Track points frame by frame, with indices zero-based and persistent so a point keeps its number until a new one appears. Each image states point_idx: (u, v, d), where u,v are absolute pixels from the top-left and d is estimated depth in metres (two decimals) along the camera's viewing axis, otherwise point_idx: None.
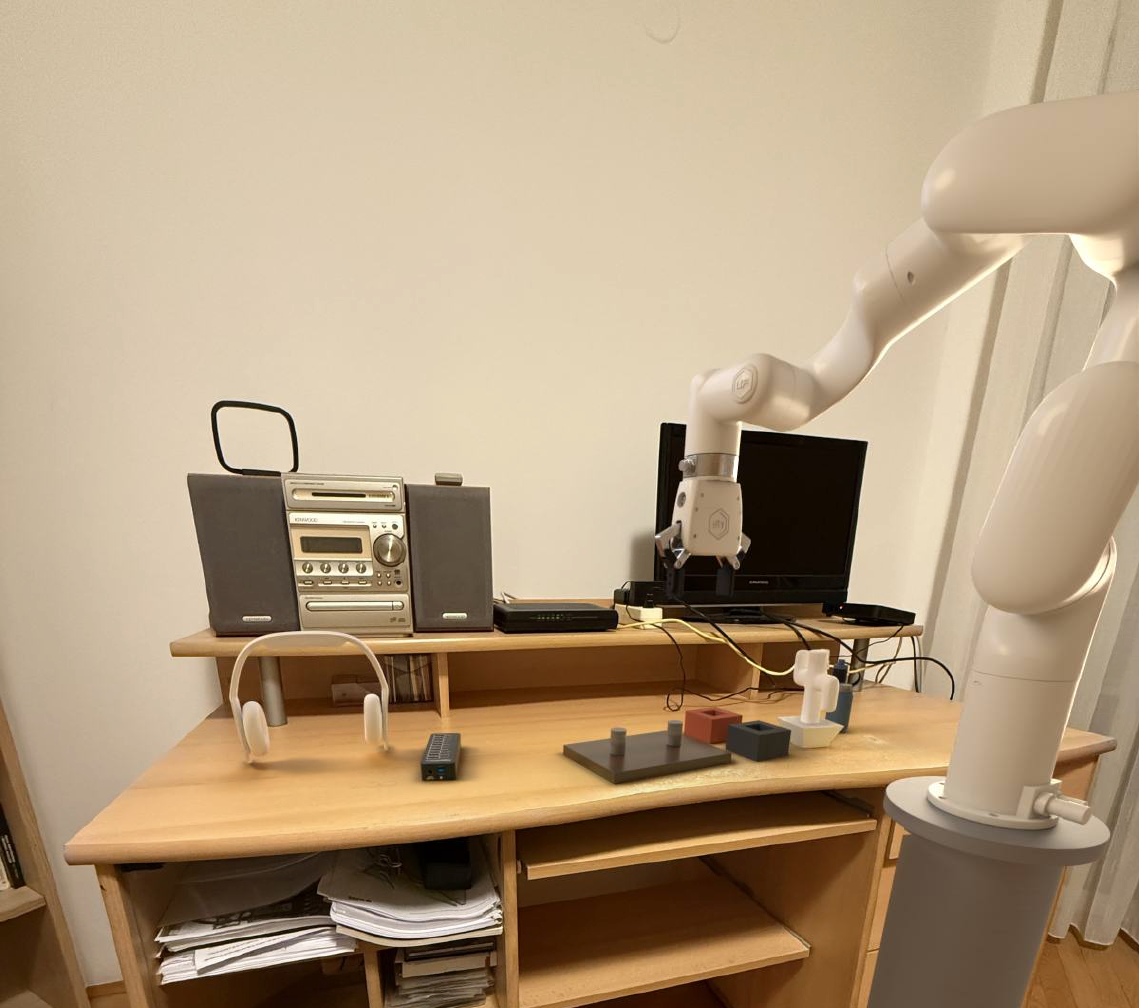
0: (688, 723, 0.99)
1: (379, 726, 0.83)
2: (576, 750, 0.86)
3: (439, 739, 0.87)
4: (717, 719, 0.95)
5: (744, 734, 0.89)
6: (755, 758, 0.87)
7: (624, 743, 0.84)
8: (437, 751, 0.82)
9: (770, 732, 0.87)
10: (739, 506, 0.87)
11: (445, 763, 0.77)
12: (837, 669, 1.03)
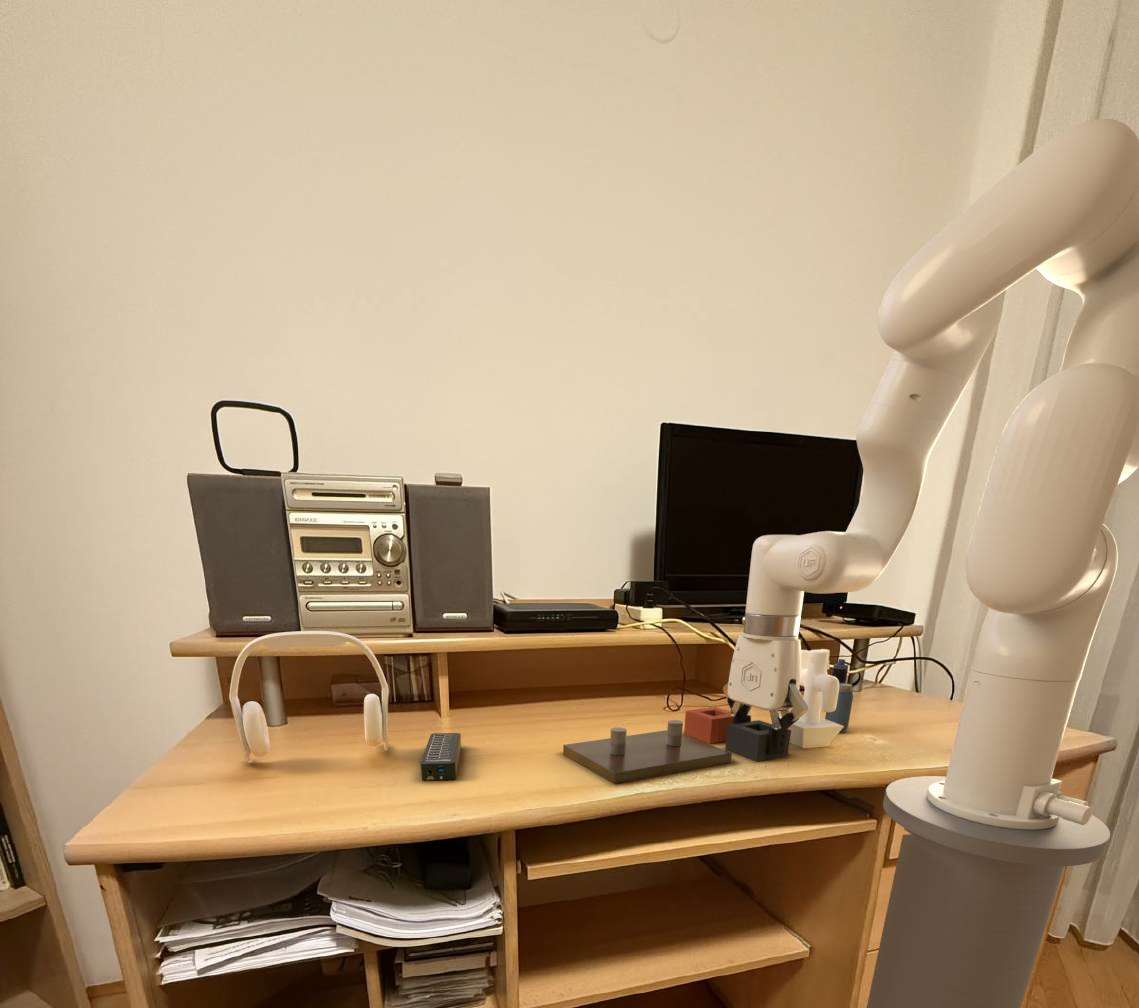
0: (688, 723, 0.99)
1: (379, 726, 0.83)
2: (576, 750, 0.86)
3: (439, 739, 0.87)
4: (717, 719, 0.95)
5: (744, 734, 0.89)
6: (755, 758, 0.87)
7: (624, 743, 0.84)
8: (437, 751, 0.82)
9: None
10: (774, 663, 0.83)
11: (445, 763, 0.77)
12: (837, 669, 1.03)
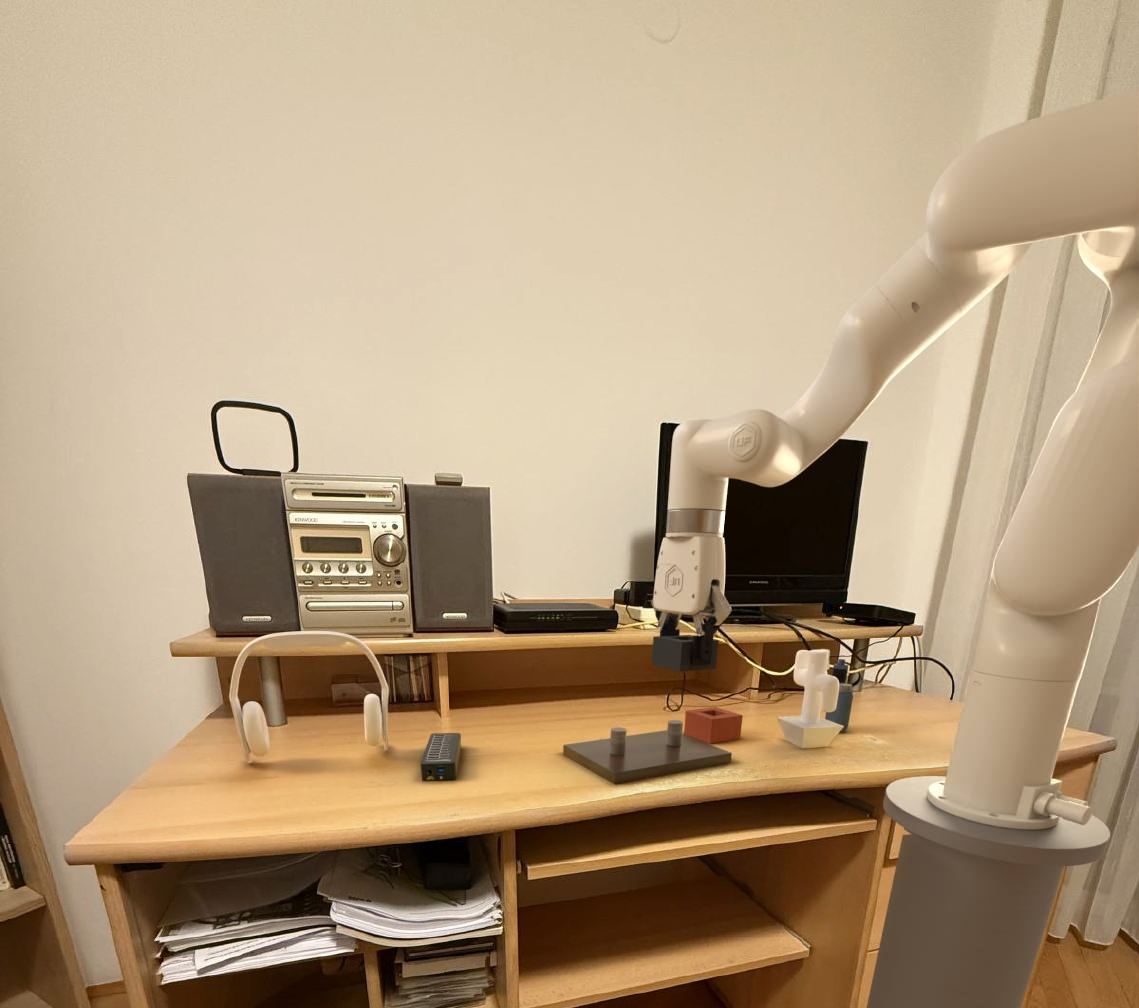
0: (688, 723, 0.99)
1: (379, 726, 0.83)
2: (576, 750, 0.86)
3: (439, 739, 0.87)
4: (717, 719, 0.95)
5: (668, 644, 0.83)
6: (679, 668, 0.82)
7: (624, 743, 0.84)
8: (437, 751, 0.82)
9: None
10: (695, 561, 0.77)
11: (445, 763, 0.77)
12: (837, 669, 1.03)
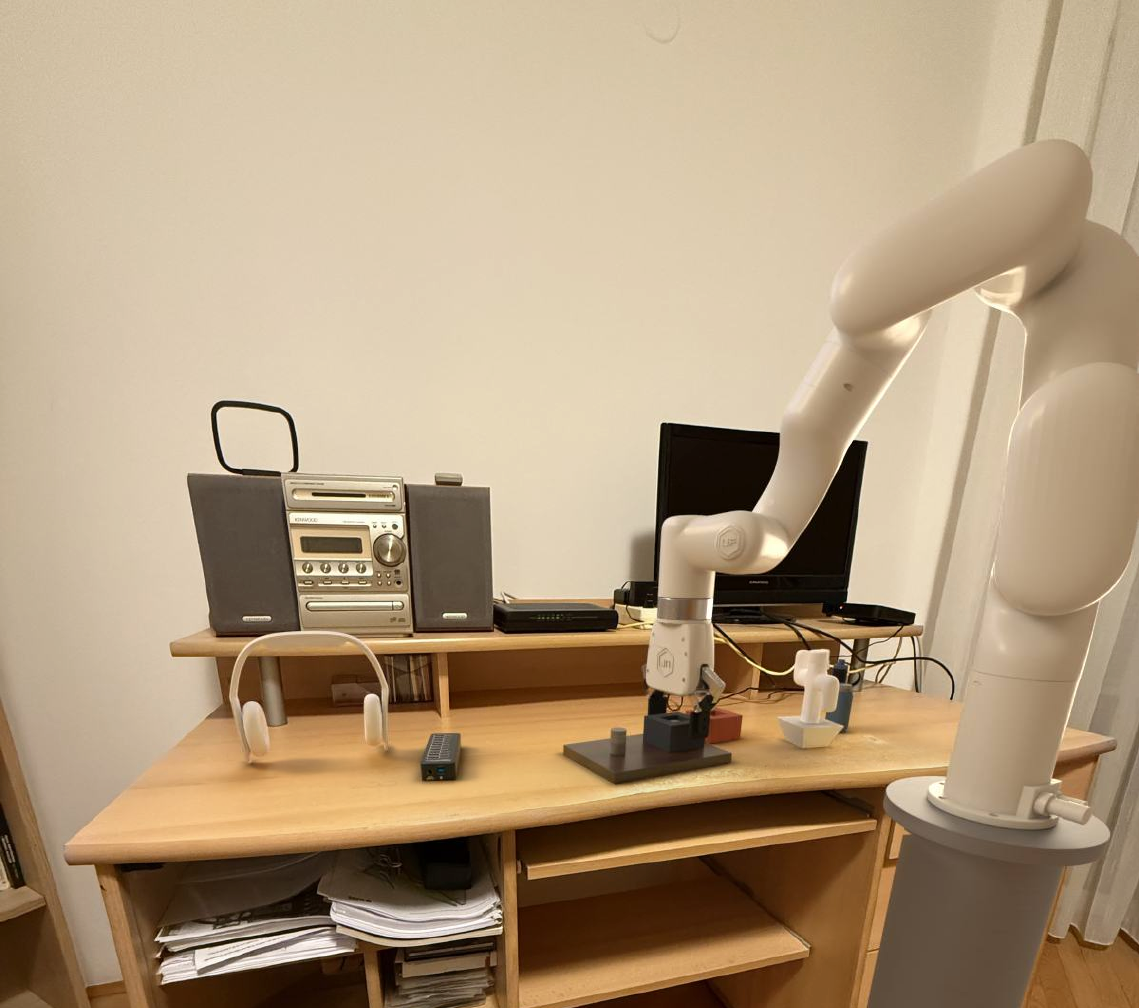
0: None
1: (379, 726, 0.83)
2: (576, 750, 0.86)
3: (439, 739, 0.87)
4: (717, 719, 0.95)
5: (658, 725, 0.87)
6: (668, 749, 0.85)
7: (624, 743, 0.84)
8: (437, 751, 0.82)
9: (683, 723, 0.86)
10: (685, 647, 0.80)
11: (445, 763, 0.77)
12: (837, 669, 1.03)
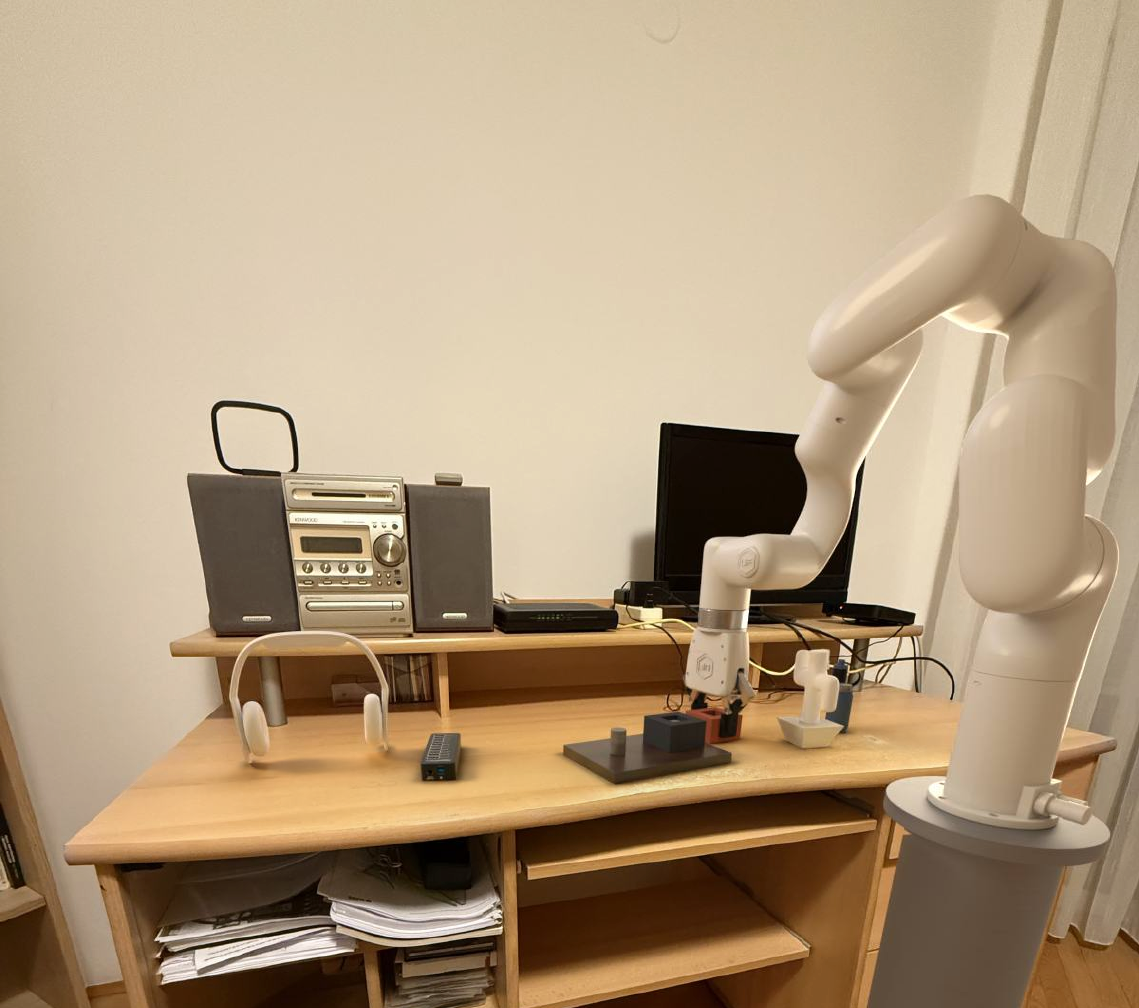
0: None
1: (379, 726, 0.83)
2: (576, 750, 0.86)
3: (439, 739, 0.87)
4: (717, 719, 0.95)
5: (658, 725, 0.87)
6: (668, 749, 0.85)
7: (624, 743, 0.84)
8: (437, 751, 0.82)
9: (683, 723, 0.86)
10: (724, 653, 0.91)
11: (445, 763, 0.77)
12: (837, 669, 1.03)
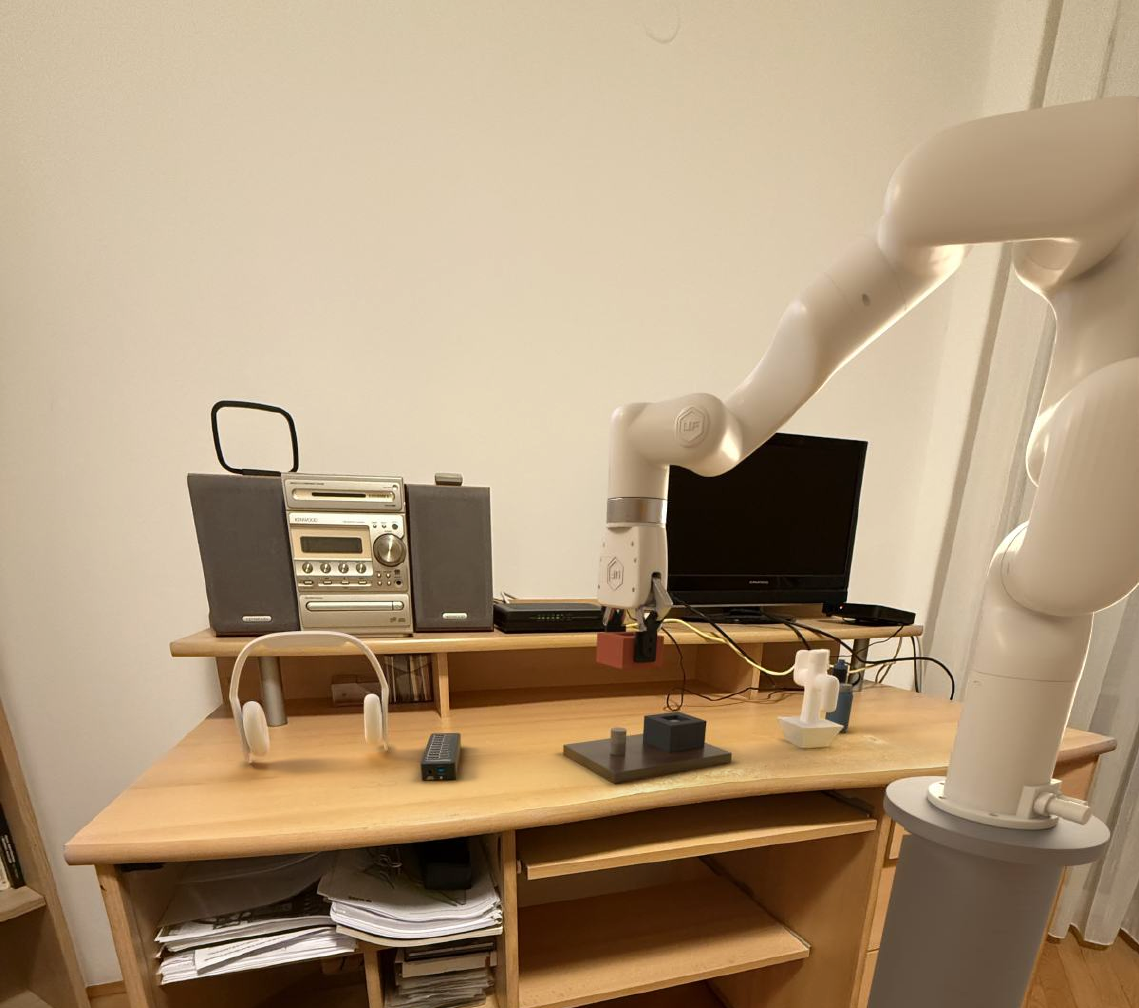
0: (600, 648, 0.82)
1: (379, 726, 0.83)
2: (576, 750, 0.86)
3: (439, 739, 0.87)
4: (630, 639, 0.77)
5: (658, 725, 0.87)
6: (668, 749, 0.85)
7: (624, 743, 0.84)
8: (437, 751, 0.82)
9: (683, 723, 0.86)
10: (634, 552, 0.73)
11: (445, 763, 0.77)
12: (837, 669, 1.03)
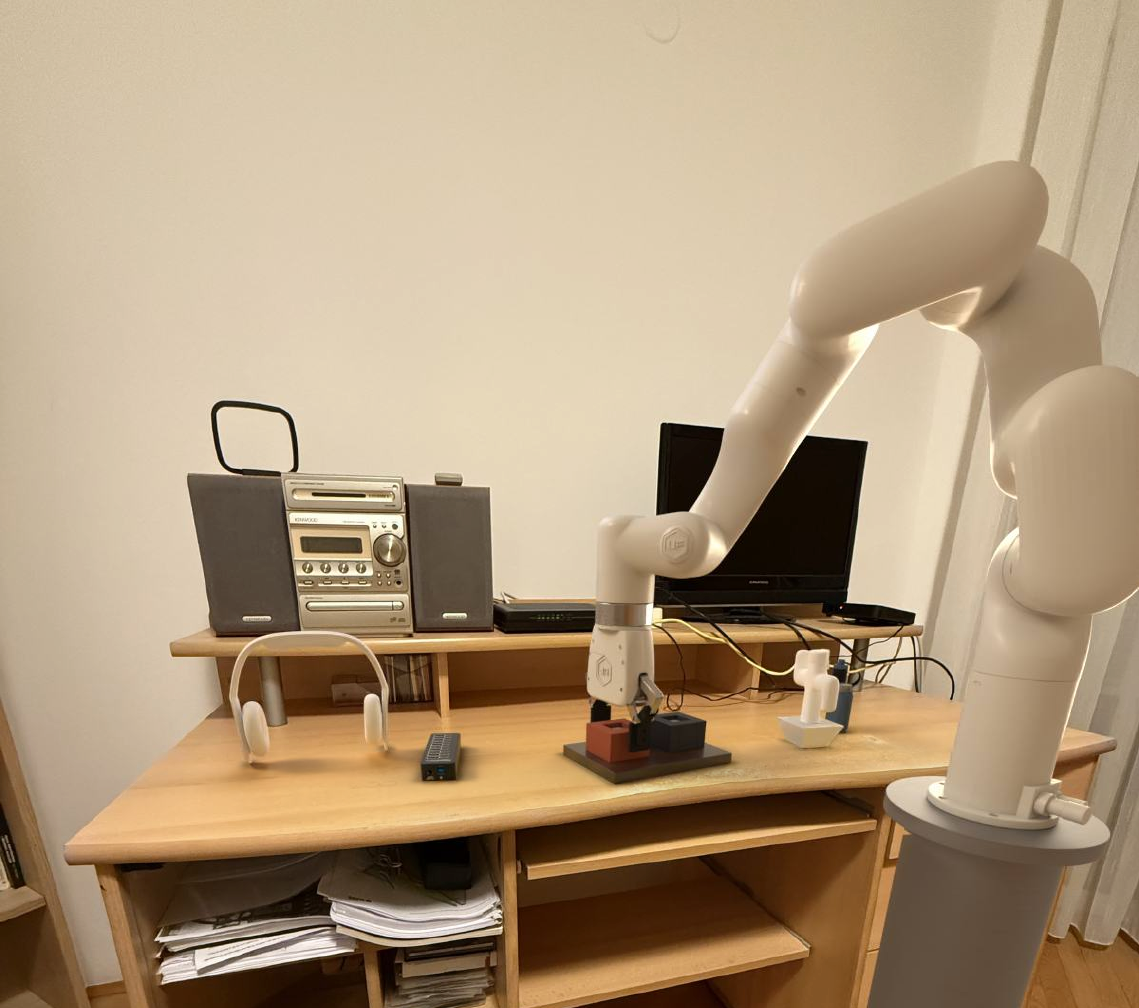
0: (589, 738, 0.85)
1: (379, 726, 0.83)
2: (576, 750, 0.86)
3: (439, 739, 0.87)
4: (618, 734, 0.80)
5: (658, 725, 0.87)
6: (668, 749, 0.85)
7: None
8: (437, 751, 0.82)
9: (683, 723, 0.86)
10: (622, 655, 0.76)
11: (445, 763, 0.77)
12: (837, 669, 1.03)
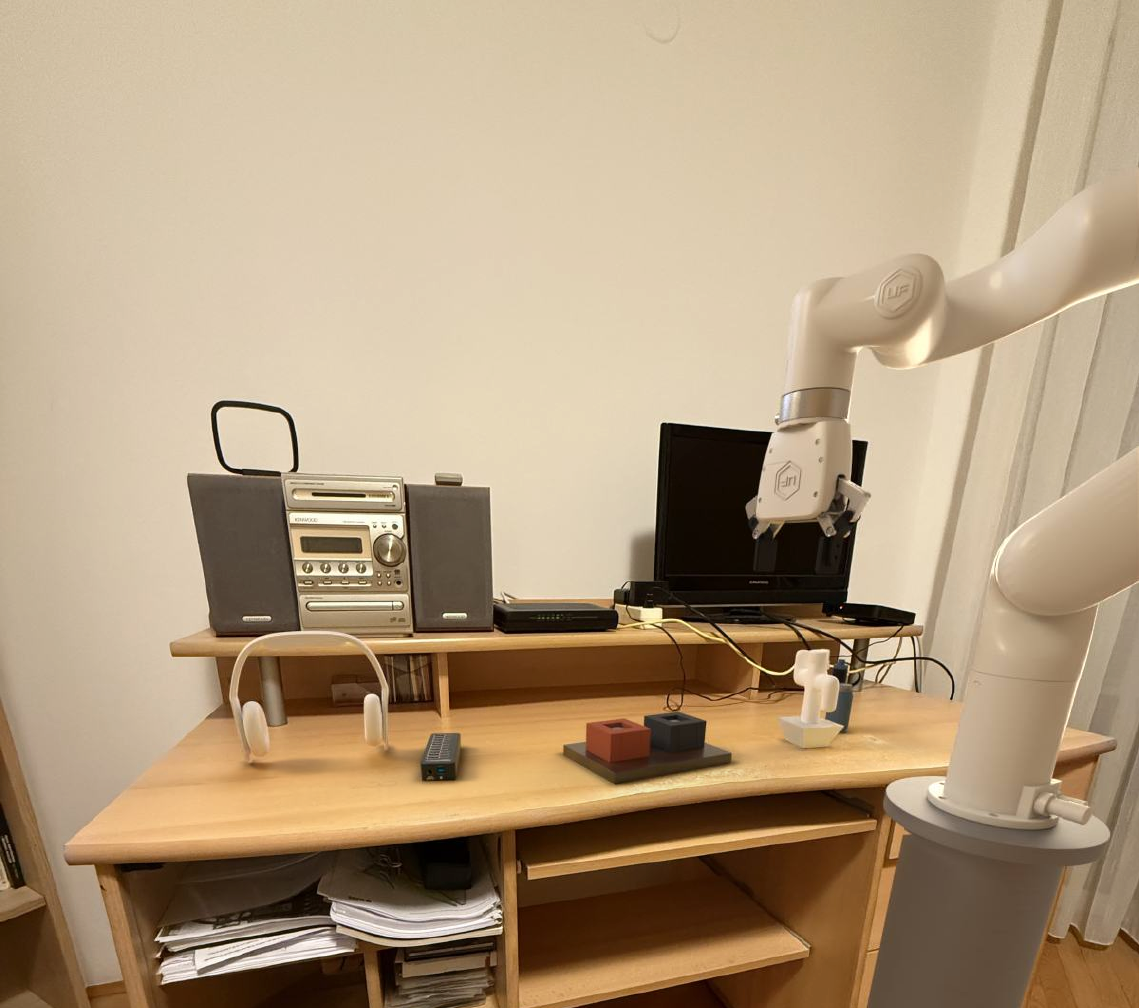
0: (589, 738, 0.85)
1: (379, 726, 0.83)
2: (576, 750, 0.86)
3: (439, 739, 0.87)
4: (618, 734, 0.80)
5: (658, 725, 0.87)
6: (668, 749, 0.85)
7: None
8: (437, 751, 0.82)
9: (683, 723, 0.86)
10: (819, 451, 0.65)
11: (445, 763, 0.77)
12: (837, 669, 1.03)
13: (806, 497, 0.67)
